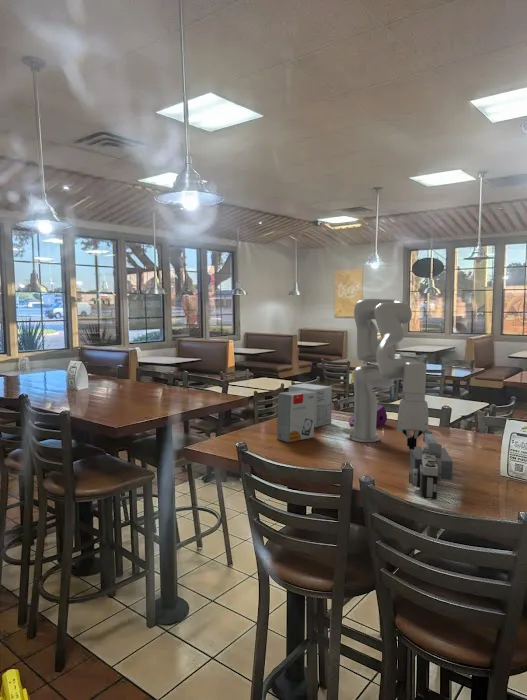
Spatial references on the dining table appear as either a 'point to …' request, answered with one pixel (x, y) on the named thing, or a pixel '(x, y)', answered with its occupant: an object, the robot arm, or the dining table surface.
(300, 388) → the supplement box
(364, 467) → the dining table surface
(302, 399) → the hard drive box
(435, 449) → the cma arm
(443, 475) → the chassis
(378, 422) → the mounting bracket
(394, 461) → the dining table surface
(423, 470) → the camera
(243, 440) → the dining table surface
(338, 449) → the dining table surface
